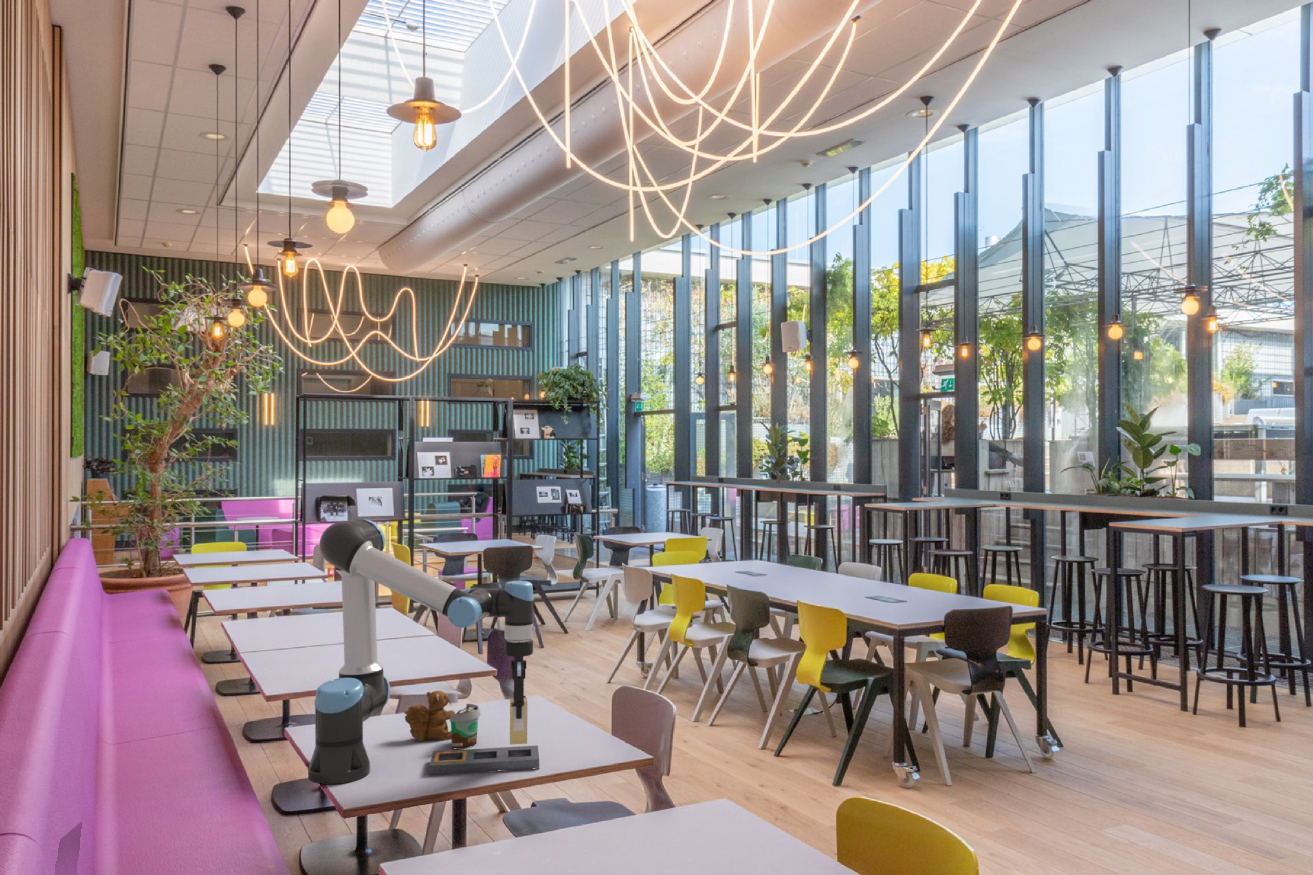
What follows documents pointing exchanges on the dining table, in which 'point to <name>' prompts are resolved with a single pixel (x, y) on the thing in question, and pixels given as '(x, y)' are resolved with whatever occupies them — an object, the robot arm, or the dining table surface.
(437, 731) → the stuffed squirrel
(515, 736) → the brass post
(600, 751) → the dining table surface
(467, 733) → the food container
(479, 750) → the grey slotted tray
